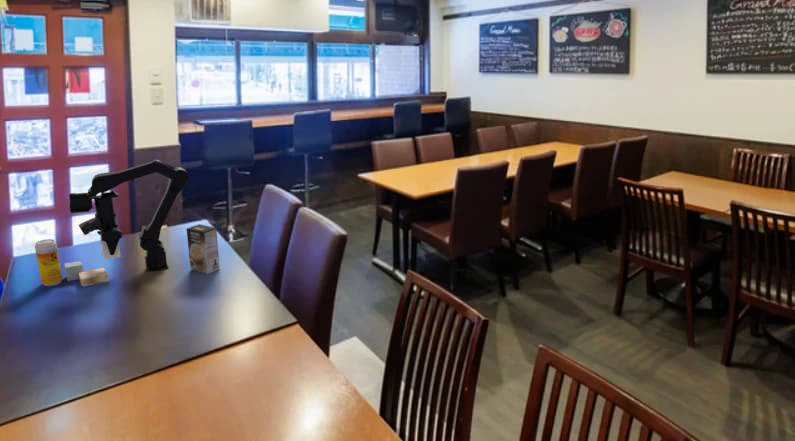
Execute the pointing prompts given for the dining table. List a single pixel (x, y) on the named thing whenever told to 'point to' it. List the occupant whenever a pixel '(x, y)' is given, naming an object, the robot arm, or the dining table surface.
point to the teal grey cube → (73, 270)
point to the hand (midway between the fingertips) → (111, 252)
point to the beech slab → (93, 277)
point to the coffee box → (203, 248)
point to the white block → (106, 251)
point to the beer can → (48, 262)
